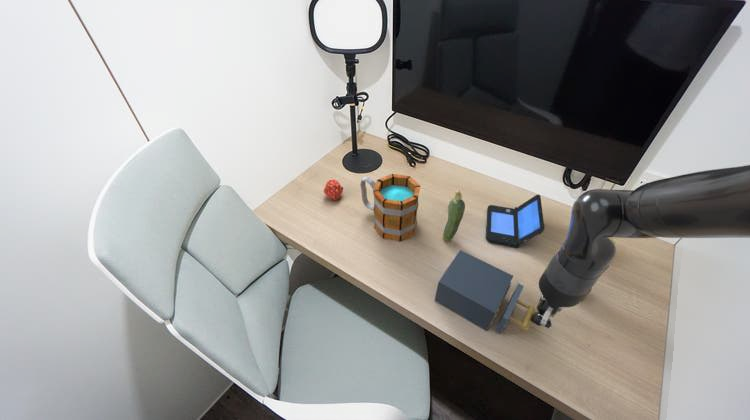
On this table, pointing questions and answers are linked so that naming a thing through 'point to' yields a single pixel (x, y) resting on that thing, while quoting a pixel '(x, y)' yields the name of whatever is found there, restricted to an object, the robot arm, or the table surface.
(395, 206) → the mug
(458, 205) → the vegetable
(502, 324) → the drawer
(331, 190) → the red bumpy fruit
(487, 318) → the cabinet
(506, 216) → the game console
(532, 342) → the table surface
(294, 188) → the table surface
